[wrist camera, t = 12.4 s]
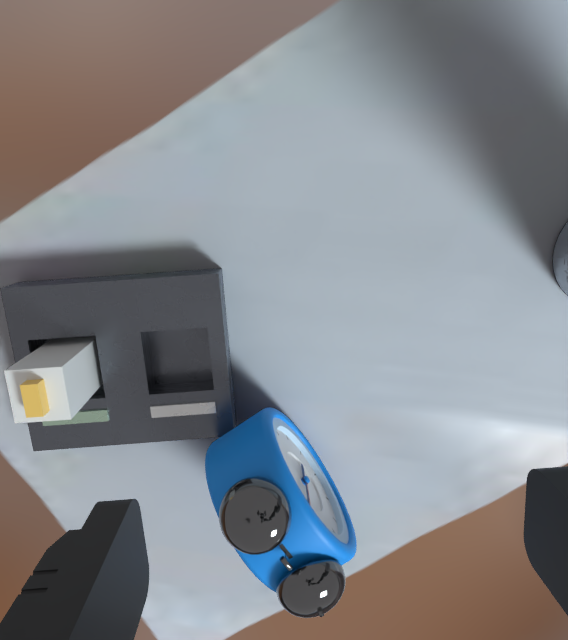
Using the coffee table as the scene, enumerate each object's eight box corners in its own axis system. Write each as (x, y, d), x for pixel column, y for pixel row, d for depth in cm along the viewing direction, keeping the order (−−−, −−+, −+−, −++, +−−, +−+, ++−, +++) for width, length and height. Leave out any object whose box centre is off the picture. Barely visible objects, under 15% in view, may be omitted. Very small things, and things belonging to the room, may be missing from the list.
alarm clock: (344, 486, 47) (379, 615, 33) (290, 520, 48) (302, 661, 33) (265, 381, 44) (267, 471, 30) (210, 418, 45) (184, 524, 30)
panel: (221, 268, 42) (218, 273, 39) (236, 420, 45) (233, 436, 42) (18, 282, 41) (-2, 289, 38) (48, 434, 45) (32, 452, 42)
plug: (99, 335, 42) (56, 371, 33) (106, 379, 43) (65, 425, 34) (52, 338, 42) (-4, 375, 33) (60, 383, 43) (7, 429, 34)
